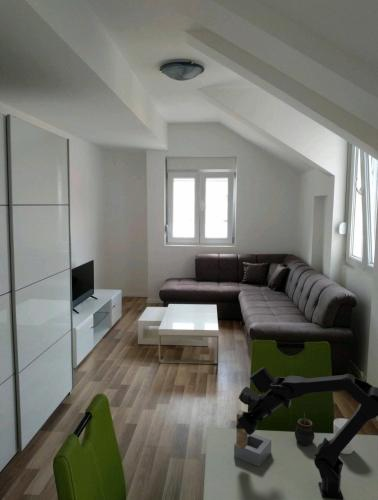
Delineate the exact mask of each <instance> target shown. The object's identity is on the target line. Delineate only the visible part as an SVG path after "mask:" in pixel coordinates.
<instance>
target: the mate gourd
mask: <svg viewBox="0 0 378 500" xmlns="http://www.w3.org/2000/svg"><path fill="white" fill-rule="evenodd" d="M296 422H297V424H296V427H295V431H294V438H295V439H296V441H297V442H298V443H299V444H301V445H304V446H308V445H310V444H312V443H313V442H314V440H315V431H314V428H313V427H314V425H313V422H312V421H311V420H310V419H307V418H306V412H303V418H299V419H298V420H297V421H296Z"/></svg>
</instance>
